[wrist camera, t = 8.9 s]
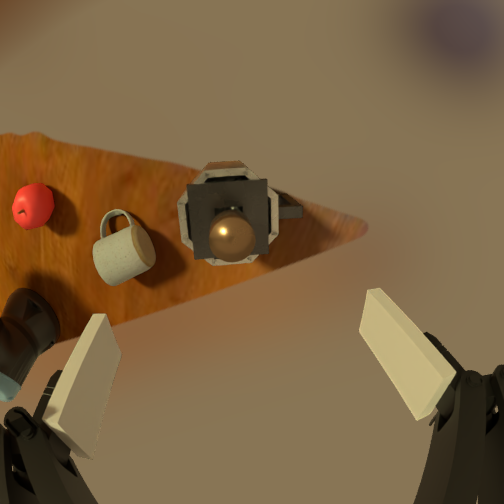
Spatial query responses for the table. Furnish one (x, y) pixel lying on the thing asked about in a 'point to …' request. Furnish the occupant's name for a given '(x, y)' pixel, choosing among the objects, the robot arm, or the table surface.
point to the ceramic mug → (123, 251)
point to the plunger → (230, 231)
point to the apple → (33, 206)
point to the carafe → (231, 195)
